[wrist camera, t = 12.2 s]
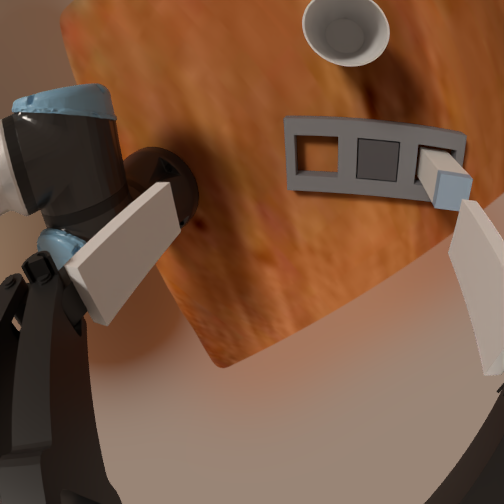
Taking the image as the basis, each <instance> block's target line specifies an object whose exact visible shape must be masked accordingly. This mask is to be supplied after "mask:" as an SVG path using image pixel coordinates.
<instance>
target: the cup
mask: <svg viewBox="0 0 504 504" xmlns="http://www.w3.org/2000/svg"><path fill="white" fill-rule="evenodd" d="M302 26H303V32H304V35H305V38H306V40H307V42H308V43H309V45H310V46H311V48H312V49H313V50H314V51H315V52H316V53H317V54H318V55H320V56H321V57H322V58H324V59H326V60H327V61H329V62H332V63H334V64H337V65H342V66H361V65H365V64H368V63H370V62H372V61H374V60H375V59H377V58H378V57H379V56H380V55H381V54H382V53H383V51H384V50H385V48H386V46H387V44H388V41H389V25H388V21H387V19H386V16H385V14H384V13H383V11H382V10H381V9H380V7H379V6H378V5H377V4H376V3H375V2H374V1H372V0H312V1H311V2H310V3H309V5H308V6H307V8H306V9H305V12H304V15H303V20H302Z"/></svg>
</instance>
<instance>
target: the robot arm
mask: <svg viewBox="0 0 504 504" xmlns="http://www.w3.org/2000/svg"><path fill="white" fill-rule="evenodd" d="M12 112H14V114H12V115H10V116H8V117H6V118H4V119H2V120H0V216H1V215H2V214H5V213H6V212H8V211H15V212H17V213H19V214H22V215H24V216H29V215H31V214H33V213H35V212H36V211H38V210H41V213H42V215H43V218H44V221H45V224H46V227H47V229H44V230H43V231H42V232H41V234H40V236H39V238H38V241H37V243H38V245H37V248H38V252H37V253H35V254H33V255H32V256H30V257H29V258H28V259H27V260H26V261H25V262H24V263H23V265H22V269H23V271H24V273H25V275H26V277H27V278H28V280H29V282H30V283H26V282H25V280H24V279H23V277H22V275H21V274H19V273H18V274H13V275H10V276H9V277H7V278H6V279H5V280H4V281H3V282H2V284H1V285H0V504H122V503H121V500H120V497H119V496H118V494H117V492H116V490H115V489H114V488H113V487H112V485H111V484H110V483H109V481H108V478H107V476H106V472H105V467H104V463H103V459H102V454H101V449H100V444H99V439H98V433H97V428H96V422H95V415H94V408H93V401H92V393H91V385H90V374H89V362H88V348H87V325H86V321H85V319H84V317H83V316H84V314H85V313H86V312H87V311H88V313H89V314H90V316H91V318H92V320H93V321H94V322H96V323H99V324H102V325H106V326H108V325H109V324H110V322H111V320H112V319H113V318H114V317H115V315H116V314H117V313H118V311H119V310H120V309H121V307H122V306H123V305H124V303H125V302H126V301H127V299H128V298H129V296H130V295H131V294H132V292H133V291H134V290H135V289H136V287H137V286H138V285H139V283H140V282H141V281H142V280H143V278H144V277H145V276H146V274H147V273H148V272H149V270H150V269H151V268H152V267H153V266H154V264H155V263H156V262H157V261H158V259H159V258H160V257H161V256H162V254H163V253H164V252H165V251H166V249H167V248H168V247H169V246H170V244H171V243H172V242H173V241H174V240H175V238H176V237H177V236H178V235H179V233H180V232H181V228H183V227H184V226H185V225H186V224H187V223H188V221H189V220H190V219H191V218H192V217H193V215H194V213H195V211H196V209H197V206H198V196H199V195H198V188H197V184H196V181H195V178H194V176H193V174H192V172H191V171H190V169H189V168H188V166H187V165H186V164H185V163H184V162H183V161H182V160H181V159H180V158H179V157H178V156H176V155H175V154H173V153H172V152H170V151H168V150H165V149H162V148H158V147H146V148H142V149H140V150H138V151H136V152H134V153H133V154H131V155H129V156H128V157H127V158H126V159H125V160H124V161H123V159H122V154H121V149H120V144H119V138H118V132H117V126H116V120H117V117H116V116H115V114H114V110H113V105H112V101H111V95H110V92H109V90H108V89H107V88H106V87H105V86H103V85H101V84H83V85H75V86H69V87H63V88H58V89H53V90H49V91H44V92H41V93H37V94H34V95H30V96H26V97H22V98H20V99H17V100H16V101H15V102H14V103H13V108H12ZM448 254H449V257H450V259H451V262H452V264H453V267H454V270H455V273H456V276H457V278H458V281H459V284H460V287H461V290H462V293H463V296H464V299H465V302H466V306H467V309H468V312H469V316H470V319H471V323H472V326H473V330H474V334H475V338H476V341H477V346H478V350H479V354H480V359H481V363H482V368H483V373H484V376H485V375H501V374H502V373H503V372H504V241H503V239H502V237H501V236H500V234H499V233H498V231H497V230H496V228H495V227H494V225H493V224H492V222H491V221H490V219H489V218H488V216H487V215H486V214H485V212H484V211H483V209H482V208H481V207H480V205H479V204H478V203H477V201H472V200H465V199H462V201H461V206H460V210H459V214H458V218H457V222H456V226H455V230H454V234H453V238H452V241H451V245H450V248H449V251H448ZM13 317H15V319H16V320H17V321H18V323H19V324H20V326H21V330H20V331H18V330H17V329H16V328H15V326H14V325H13V324H12V319H13ZM501 390H502V391H501ZM500 391H501V393H500V395H499V397H498V399H497V401H496V403H495V404H494V406H493V408H492V410H491V412H490V413H489V415H488V417H487V419H486V420H485V422H484V424H483V425H482V427H481V429H480V430H479V432H478V433H477V435H476V437H475V438H474V440H473V441H472V443H471V444H470V446H469V447H468V449H467V450H466V452H465V453H464V454H463V456H462V457H461V459H460V460H459V462H458V463H457V464H456V466H455V467H454V468H453V470H452V471H451V472H450V473H449V475H448V476H447V477H446V479H445V480H444V481H443V483H442V484H441V485H440V486H439V487H438V489H437V490H436V491H435V492H434V493H433V494H432V496H431V497H430V498H429V499H428V500H427V501H426V502H425V504H504V383H503V385H502V386H501V387H500V388H499V389H498V390H497V392H498V393H499V392H500Z"/></svg>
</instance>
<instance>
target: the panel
mask: <svg viewBox="0 0 504 504" xmlns="http://www.w3.org/2000/svg"><path fill="white" fill-rule="evenodd" d="M284 133H285V150H286V170H287V190H298V191H316V192H332V193H346V194H359V195H371V196H382V197H392V198H402V199H411V200H420V201H428V202H431V200H430V198H429V196H428V194H427V192H426V190H425V189H424V187H423V185H422V183H421V181H420V180H415V179H414V178H415V170H416V162H417V152H418V144H421V145H428V146H434V147H441V148H447V149H452V151H451V156H452V157H453V158H454V159H455V160H456V161H457V162H458V163H459V164H460V166H461V167H462V166H463V159H464V152H465V145H466V135H465V134H464V133H462V132H459V131H454V130H448V129H443V128H437V127H431V126H424V125H417V124H410V123H402V122H394V121H384V120H374V119H362V118H347V117H327V116H286V117H285V118H284ZM296 135H313V136H336V137H338V172H323V171H303V170H298V165H297V140H296ZM357 138H358V155H357ZM356 163H357V174H356Z"/></svg>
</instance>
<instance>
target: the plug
mask: <svg viewBox="0 0 504 504" xmlns="http://www.w3.org/2000/svg"><path fill="white" fill-rule="evenodd" d="M417 176H418V178H419V180H420V181H421V183H422V185H423V187H424V189H425V190H426V192H427V194H428V196H429V198H430V200H431V202H432V204H433V206H434V207H435V208H438V209H446V210H454V211H459V210H460V206H461V201H462V199H465V200H469V195H470V190H471V186H472V181H473V179H472V178H471V176H470V175H469V174H468V173H467V172H466V171H465V170H464V169H463V168H462V167H461V166H460V164H459V163H458V162H457V161H456V160H455V159H454V158H453V157H452V156H451V155H450V154H449V153H448V152H447V151H445V150H439V149H432V148H425V147H420V148H419V158H418V167H417Z"/></svg>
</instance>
